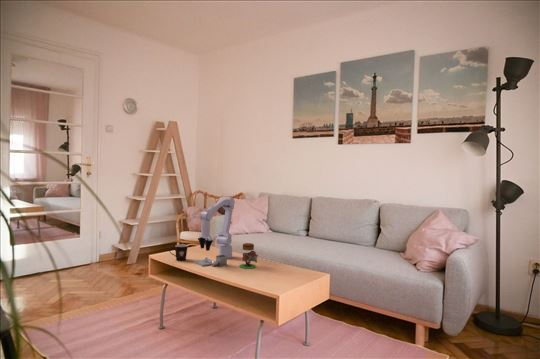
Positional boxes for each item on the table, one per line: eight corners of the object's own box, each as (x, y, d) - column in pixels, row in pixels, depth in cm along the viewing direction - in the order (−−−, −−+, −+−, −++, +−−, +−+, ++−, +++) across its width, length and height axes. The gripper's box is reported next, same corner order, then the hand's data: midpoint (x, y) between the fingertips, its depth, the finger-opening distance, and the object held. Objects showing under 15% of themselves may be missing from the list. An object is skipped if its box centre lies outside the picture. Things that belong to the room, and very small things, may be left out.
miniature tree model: (255, 269, 232) (256, 246, 231) (236, 268, 234) (237, 245, 234) (259, 265, 243) (260, 243, 243) (241, 263, 246) (242, 241, 245)
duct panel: (208, 260, 251) (208, 254, 251) (217, 264, 242) (217, 258, 242) (194, 262, 244) (194, 256, 244) (202, 266, 235) (202, 260, 235)
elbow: (222, 263, 244) (222, 254, 244) (226, 265, 240) (227, 256, 240) (210, 265, 238) (210, 256, 238) (214, 267, 234) (214, 258, 234)
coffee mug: (189, 258, 254) (189, 244, 254) (184, 261, 246) (185, 247, 245) (173, 257, 255) (173, 243, 255) (168, 260, 247) (168, 246, 246)
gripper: (195, 228, 245) (194, 248, 245) (205, 231, 234) (204, 252, 234) (204, 227, 249) (204, 246, 250) (214, 230, 238) (214, 250, 238)
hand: (205, 249), depth 242 cm, fingers open, 7 cm apart
